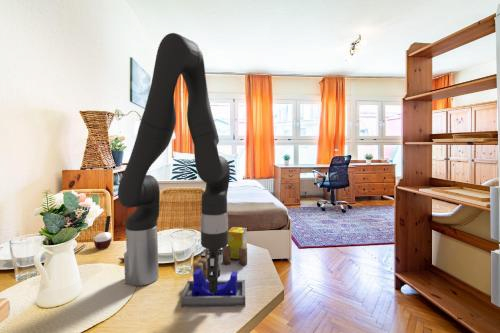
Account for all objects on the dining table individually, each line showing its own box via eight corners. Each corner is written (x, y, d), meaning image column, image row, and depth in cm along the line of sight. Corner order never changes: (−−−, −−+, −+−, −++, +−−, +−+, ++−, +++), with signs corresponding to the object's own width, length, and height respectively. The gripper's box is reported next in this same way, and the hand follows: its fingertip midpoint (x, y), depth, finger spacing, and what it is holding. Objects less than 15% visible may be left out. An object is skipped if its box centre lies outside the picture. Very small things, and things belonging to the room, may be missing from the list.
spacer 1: (192, 285, 84) (192, 266, 83) (194, 280, 86) (194, 262, 86) (202, 285, 84) (202, 266, 83) (203, 280, 87) (203, 262, 86)
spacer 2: (197, 280, 87) (197, 262, 86) (198, 275, 90) (198, 258, 89) (207, 280, 87) (206, 262, 86) (208, 275, 90) (207, 258, 89)
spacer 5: (238, 265, 97) (238, 249, 96) (238, 262, 100) (238, 246, 99) (247, 265, 97) (247, 249, 96) (247, 262, 100) (247, 246, 99)
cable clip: (192, 297, 76) (191, 276, 75) (196, 288, 80) (196, 269, 80) (234, 300, 74) (234, 279, 74) (237, 291, 79) (237, 271, 78)
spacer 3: (204, 267, 96) (204, 250, 95) (205, 263, 98) (205, 247, 98) (213, 267, 96) (212, 250, 95) (213, 263, 99) (213, 247, 98)
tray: (181, 307, 73) (181, 298, 72) (188, 289, 81) (187, 281, 81) (245, 306, 73) (245, 297, 73) (244, 288, 82) (244, 280, 82)
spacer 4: (221, 265, 97) (221, 249, 97) (222, 261, 100) (222, 245, 100) (230, 265, 97) (230, 248, 97) (230, 261, 100) (230, 245, 100)
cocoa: (98, 253, 108) (96, 224, 107) (88, 250, 111) (86, 221, 109) (119, 244, 117) (117, 217, 115) (109, 241, 120) (108, 215, 118)
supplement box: (232, 253, 108) (232, 226, 107) (247, 255, 106) (247, 227, 105) (227, 259, 102) (227, 231, 101) (242, 261, 100) (242, 232, 99)
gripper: (226, 237, 69) (226, 298, 70) (229, 220, 83) (229, 272, 84) (196, 237, 68) (197, 298, 70) (204, 220, 83) (204, 272, 84)
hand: (214, 284), depth 77 cm, fingers open, 8 cm apart
